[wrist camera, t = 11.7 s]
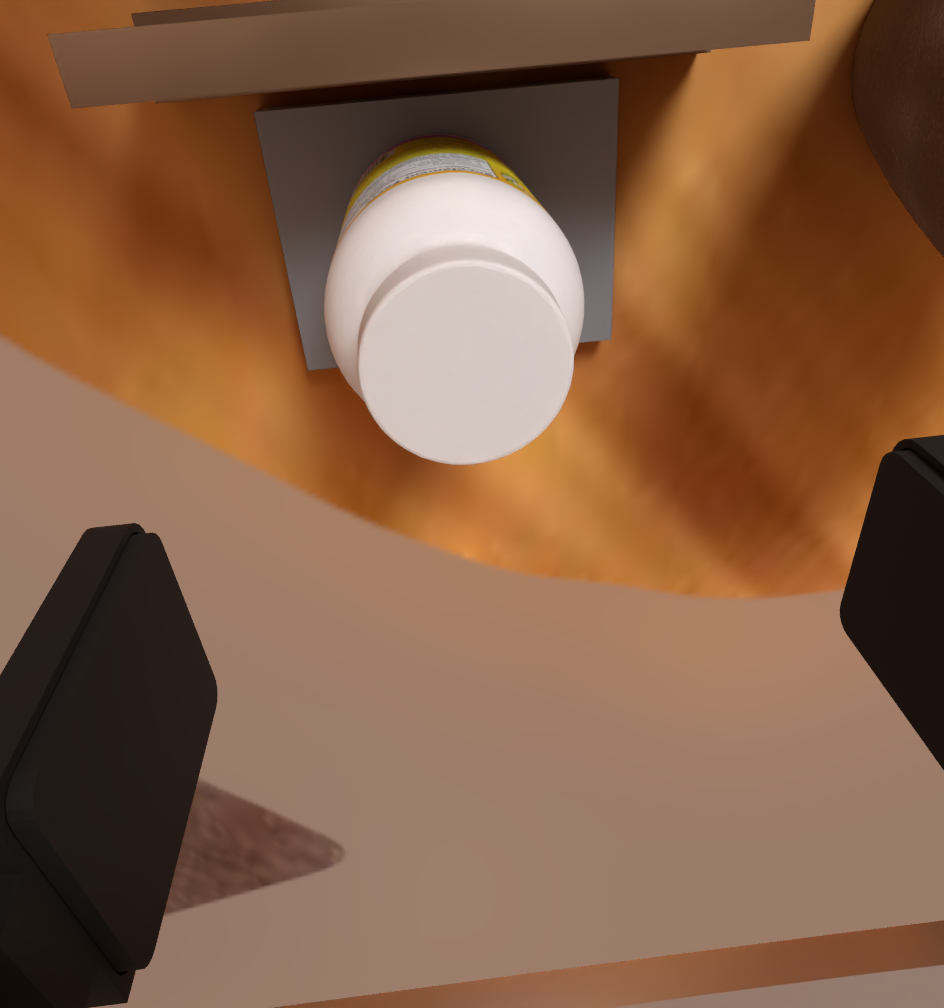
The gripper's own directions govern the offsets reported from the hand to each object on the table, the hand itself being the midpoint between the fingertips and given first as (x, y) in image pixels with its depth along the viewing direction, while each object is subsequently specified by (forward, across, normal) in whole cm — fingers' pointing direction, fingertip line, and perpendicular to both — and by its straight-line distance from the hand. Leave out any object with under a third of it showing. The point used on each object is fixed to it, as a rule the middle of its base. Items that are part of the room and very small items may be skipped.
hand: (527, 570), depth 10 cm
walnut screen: (+21, 0, -5) cm, 22 cm away
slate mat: (+21, 0, +1) cm, 21 cm away
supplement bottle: (+20, 0, +1) cm, 20 cm away
